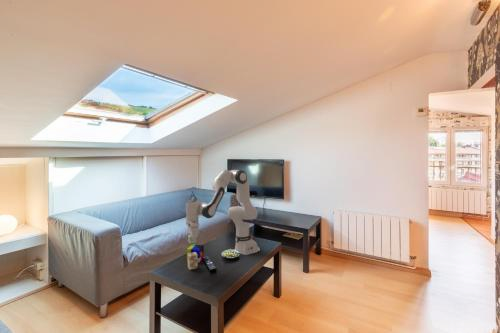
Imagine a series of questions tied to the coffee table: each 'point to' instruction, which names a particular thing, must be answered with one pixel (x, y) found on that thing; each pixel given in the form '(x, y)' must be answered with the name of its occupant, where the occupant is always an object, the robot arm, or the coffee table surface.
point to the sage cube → (191, 239)
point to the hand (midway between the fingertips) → (192, 239)
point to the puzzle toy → (198, 249)
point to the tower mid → (192, 257)
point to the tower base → (192, 265)
